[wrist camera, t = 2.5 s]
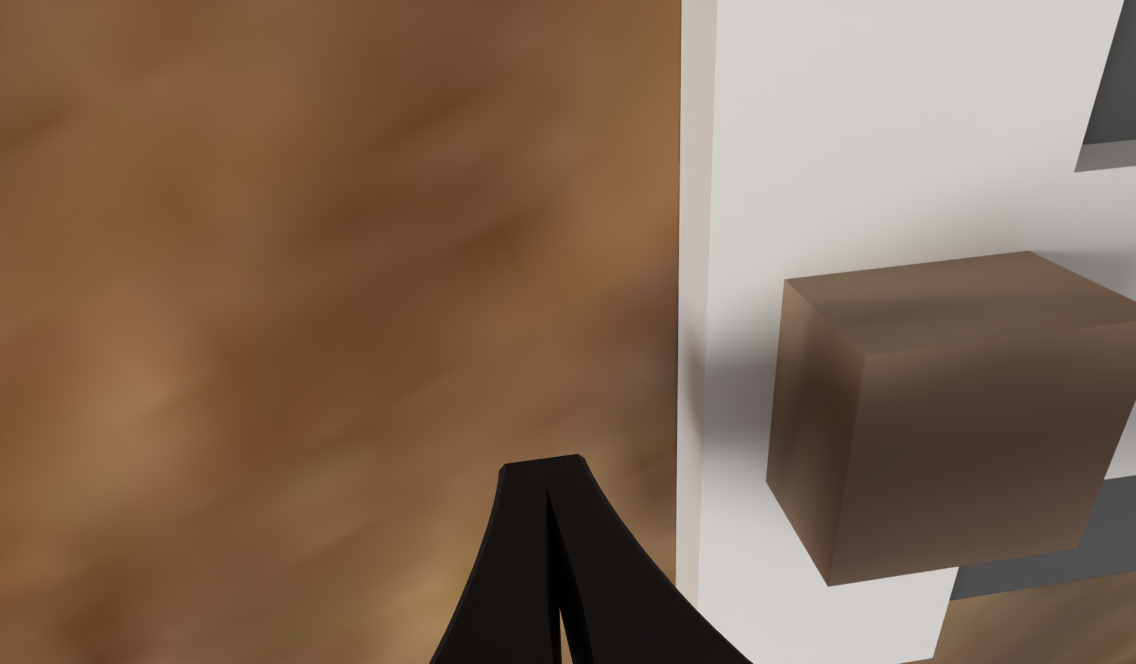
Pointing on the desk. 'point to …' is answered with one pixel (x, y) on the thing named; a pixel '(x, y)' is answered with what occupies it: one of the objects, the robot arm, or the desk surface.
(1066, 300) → the walnut block
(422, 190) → the desk surface
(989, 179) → the trap board
